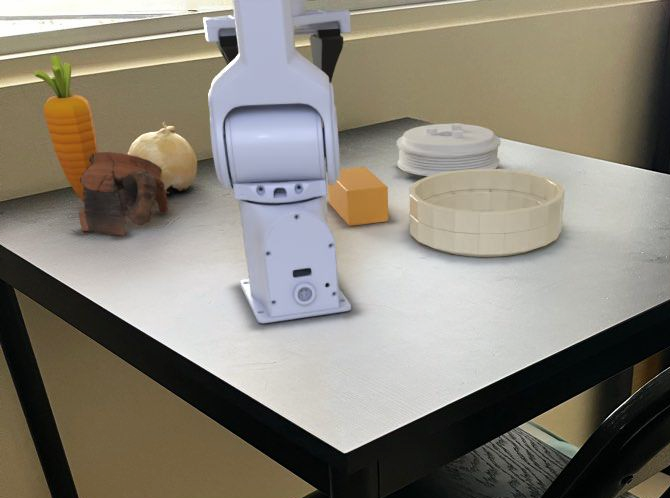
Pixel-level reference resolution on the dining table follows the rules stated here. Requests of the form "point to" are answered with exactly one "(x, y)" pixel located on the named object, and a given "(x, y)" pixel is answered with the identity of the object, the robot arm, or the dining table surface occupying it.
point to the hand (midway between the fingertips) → (286, 115)
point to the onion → (168, 156)
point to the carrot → (69, 125)
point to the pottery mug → (120, 192)
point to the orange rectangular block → (359, 197)
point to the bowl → (486, 211)
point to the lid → (447, 149)
